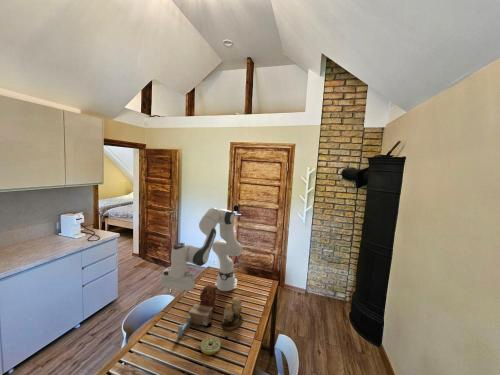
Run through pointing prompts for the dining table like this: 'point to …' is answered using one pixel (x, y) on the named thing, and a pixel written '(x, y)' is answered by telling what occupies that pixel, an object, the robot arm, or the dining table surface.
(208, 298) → the wooden figurine
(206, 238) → the robot arm
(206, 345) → the decorated donut
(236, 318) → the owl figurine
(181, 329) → the lever handle with knob
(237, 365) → the dining table surface
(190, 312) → the tan boxy piece
